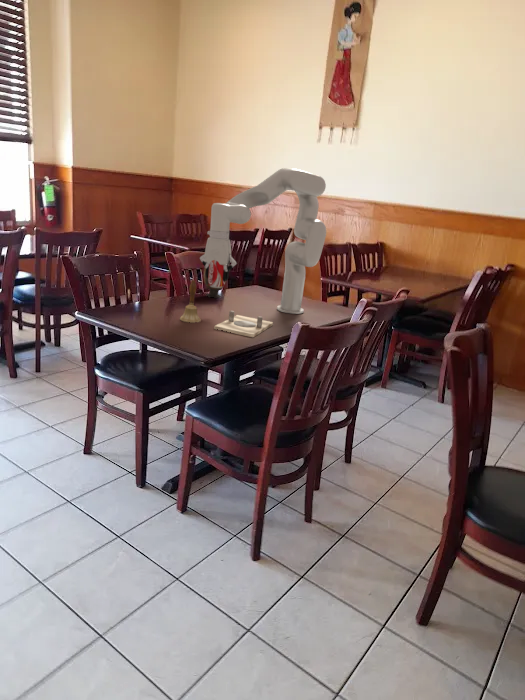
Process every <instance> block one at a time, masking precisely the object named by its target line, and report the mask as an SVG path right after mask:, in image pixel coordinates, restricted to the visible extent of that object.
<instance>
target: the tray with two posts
mask: <svg viewBox="0 0 525 700" xmlns="http://www.w3.org/2000/svg"><path fill="white" fill-rule="evenodd" d="M263 318H264V317H263V316H259V315H258V316H257V317H256V318H255V317H249V316H244V315H240V314H236V315H235V311H234V310H229V312H228V319H226V320H224V321H222V322H220V323H217V324H216V325H214V326H213V327H214V330H217V329H218V330H217V331H221V330H223V331H222V332H226V331H227V333H230V332H231V333H230V334H236V335H240V336H243V337H244V336H245V337H250V338H255V337H256V336H258V335H260V334H261V333H263V332H264V331H266V330H267V329H269V328H271V327H272V326H274V322H273V321H270V320H264V319H263Z"/></svg>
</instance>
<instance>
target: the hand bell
mask: <svg viewBox="0 0 525 700" xmlns="http://www.w3.org/2000/svg"><path fill="white" fill-rule="evenodd" d="M188 291H189V292H188V293H189V304H187V305H186V306H185V308H184V312H183V313H182V315H181V316H180V318H179V320H180V321H181V322H184V323H189V322H190V323H191V324H196V323H195V322H197V323H200V322H201V321H202V320H201V318H200V317H199V315H198V307H197V306H195V295H196V292H197V284H196V279H195V280H194V279H192V280H191V282H190V285H189V290H188Z"/></svg>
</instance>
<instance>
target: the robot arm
mask: <svg viewBox="0 0 525 700" xmlns="http://www.w3.org/2000/svg"><path fill="white" fill-rule="evenodd" d="M326 186H327V185H326V180H325V179H324V178H323V177H322V176H321V175H318V174H314V173H311V172H308V171H305V170H301V169H297V168H292V167H291V168H287V167H283V168H280V169H278V170H276V171H275V172H274V173H272V174H271V175H269V176H268V177H267V178H266V179H264V180H263V181H261V182H260V183H259V184H257V185H255V186H252V187H251V188H249V189H246V190H244V191H242V192H240V193H238V194H236V195H235V196H233V197H232V198H230V199H229V200H228V201H227V202H225V203H223V202H222V203H221V202H214V203H212V205H211V209H210V210H211V212H210V213H211V214H210V215H211V216H210V228H209V230H208V231H207V232H206V233H207V234H206V235H209V237H208V238H207V240H206V245H205V249H204V253H203V254H202V255H200V257H199V260H200V262H201V263H202V265H203V266H204V267H205V268H206V278H208V275H209V263H210V262H211V261H213V260H216V261H218V262H219V264H220V265H224V269H225V271H224V273H223V281H226V282H227V281H228V280H229V278H230V277H229V276H230V272H231V271H232V269H233V268H234V267H235V266H236V265H237V264H238V263H237V261H236V260H235V259H234V258H233V256H232V245H231V239H230V223H233V224H239V225H242V224H245V223H248V222H249V221H250V220H251V216H252V213H251V210H250V209H251V208H254V207H260V206H265V205H267V204H270V203H272V202H273V201H274V200H275V199H277V198H278V197H279V196H281V195H282V194H283V193H285V192H287V191H292V192H293V191H294V192H295V194H296V196H297V199H298V201H299V203H298V205H299V207H298V212H297V217H296V219H295V224H294V228H293V233H294V236H295V237H296V238H298V239H301V240H304V241H305V242H302V241H296V240H295V241H291V242H290V243H288V244H287V246H286V247H285V252H284V264H285V265H284V266H285V267H284V276H283V283H282V291H281V299H280V305H277V306H276V310H277V311H278V312H282V313H286V314H290V315H292V314H293V315H298V314H299V315H300V314H303V313H304V311H305V309H304V308H302V303H303V301H302V300H303V295H304V287H305V280H306V275H307V274H306V267H308V268H312V267H314V266H316V265H317V264H318V262H319V261H320V259H321V255H322V252H323V248H324V246H325V245H324V244H325V242H326V237H327V226H326V224H325V223H324V221H322V220H321V219H317V217H318V212H319V208H320V207H319V199H318V197H319V196H321V195H323V194H324V193H325V191H326V188H327V187H326ZM214 258H215V259H214ZM230 263H231V264H230Z"/></svg>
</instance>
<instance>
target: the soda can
mask: <svg viewBox="0 0 525 700" xmlns="http://www.w3.org/2000/svg"><path fill="white" fill-rule="evenodd" d="M214 259H215V258H214ZM224 271H225V269H224V265H220V264H219V262H218V261H216V260H213V261H211V262H210V263H209V275H208V285H210V287H213V288H222V287H223V286H224V287H225V286H226V283H225V281H223V273H224ZM224 287H223V288H224ZM223 288H222V289H223Z"/></svg>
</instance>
